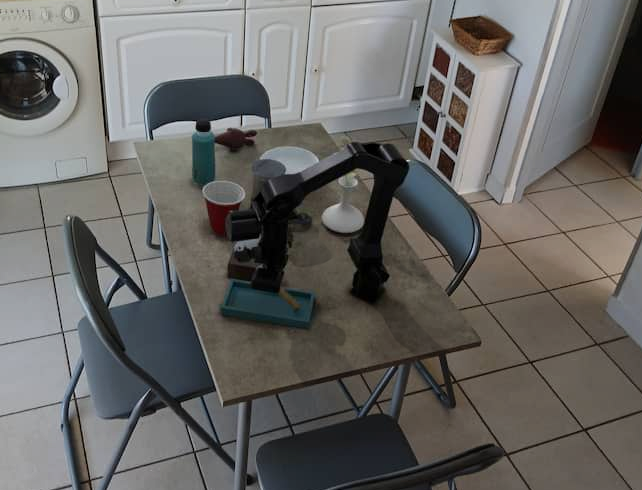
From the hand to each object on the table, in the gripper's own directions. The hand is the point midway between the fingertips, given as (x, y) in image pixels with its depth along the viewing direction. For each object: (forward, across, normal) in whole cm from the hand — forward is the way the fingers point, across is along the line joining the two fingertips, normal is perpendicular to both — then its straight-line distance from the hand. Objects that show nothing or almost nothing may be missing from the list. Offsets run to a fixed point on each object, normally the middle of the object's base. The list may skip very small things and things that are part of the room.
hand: (271, 288), depth 168 cm
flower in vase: (+6, -36, +13) cm, 39 cm away
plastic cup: (+6, -26, -17) cm, 32 cm away
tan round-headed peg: (+4, 0, +6) cm, 8 cm away
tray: (+6, 0, 0) cm, 6 cm away
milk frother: (+6, -34, -4) cm, 35 cm away
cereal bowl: (+6, -52, -5) cm, 52 cm away
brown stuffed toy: (+6, -65, -24) cm, 70 cm away
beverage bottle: (+6, -45, -28) cm, 53 cm away
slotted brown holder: (+6, -10, -7) cm, 14 cm away
